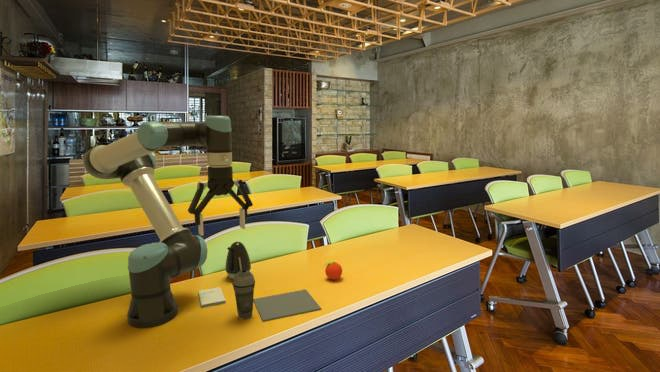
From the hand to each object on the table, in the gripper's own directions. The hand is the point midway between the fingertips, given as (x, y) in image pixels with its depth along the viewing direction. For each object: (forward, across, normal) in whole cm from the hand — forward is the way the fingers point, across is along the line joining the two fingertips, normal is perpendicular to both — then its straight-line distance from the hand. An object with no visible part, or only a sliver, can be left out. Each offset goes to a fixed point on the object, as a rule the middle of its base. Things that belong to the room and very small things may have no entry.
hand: (222, 231), depth 120 cm
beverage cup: (+28, +4, -6) cm, 29 cm away
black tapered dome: (+29, +14, +26) cm, 41 cm away
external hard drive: (+29, 0, +13) cm, 32 cm away
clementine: (+28, +45, +2) cm, 53 cm away
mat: (+28, +19, -7) cm, 35 cm away
